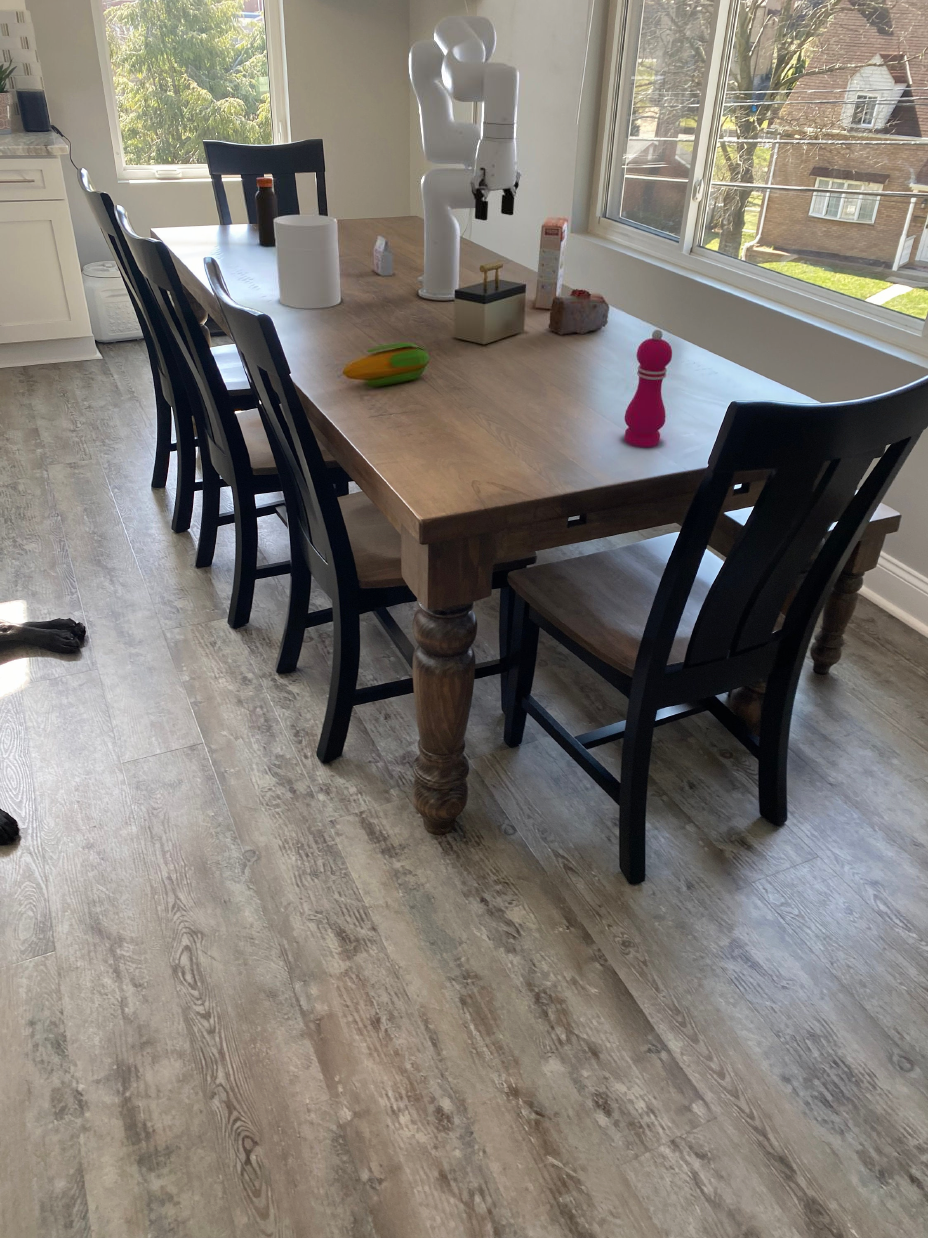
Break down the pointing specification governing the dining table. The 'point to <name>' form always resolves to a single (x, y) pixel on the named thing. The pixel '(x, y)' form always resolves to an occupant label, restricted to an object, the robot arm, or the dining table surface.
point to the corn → (389, 365)
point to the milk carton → (382, 257)
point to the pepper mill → (648, 393)
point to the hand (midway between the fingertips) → (494, 216)
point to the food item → (578, 312)
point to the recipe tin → (489, 308)
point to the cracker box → (551, 261)
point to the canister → (307, 261)
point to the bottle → (266, 211)
